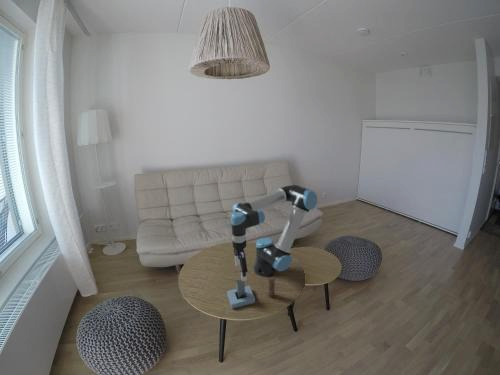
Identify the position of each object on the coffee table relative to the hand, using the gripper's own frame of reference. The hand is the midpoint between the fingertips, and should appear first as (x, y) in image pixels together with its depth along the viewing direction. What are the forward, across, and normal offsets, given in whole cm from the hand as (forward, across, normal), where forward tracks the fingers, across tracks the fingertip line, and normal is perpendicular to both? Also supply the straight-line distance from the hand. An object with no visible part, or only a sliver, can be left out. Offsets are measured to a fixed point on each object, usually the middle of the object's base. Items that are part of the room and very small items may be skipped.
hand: (240, 272), depth 135 cm
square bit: (+19, 0, -1) cm, 19 cm away
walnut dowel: (+19, +4, +17) cm, 26 cm away
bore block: (+19, 0, -1) cm, 19 cm away
